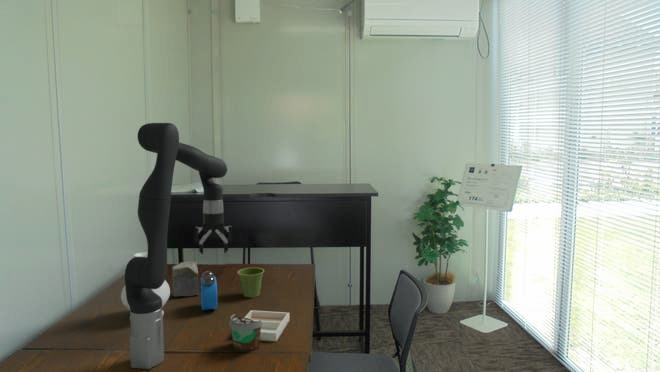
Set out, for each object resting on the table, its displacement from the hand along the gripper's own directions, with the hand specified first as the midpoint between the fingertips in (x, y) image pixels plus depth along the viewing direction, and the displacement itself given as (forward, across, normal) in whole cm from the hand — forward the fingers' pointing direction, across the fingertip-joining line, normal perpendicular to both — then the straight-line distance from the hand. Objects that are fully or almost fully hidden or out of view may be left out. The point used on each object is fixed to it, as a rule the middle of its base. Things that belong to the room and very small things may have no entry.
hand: (213, 253), depth 168 cm
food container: (+27, +9, -28) cm, 40 cm away
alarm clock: (+26, -2, +10) cm, 28 cm away
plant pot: (+26, +16, +22) cm, 37 cm away
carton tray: (+26, +17, -14) cm, 34 cm away
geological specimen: (+26, -13, +29) cm, 41 cm away
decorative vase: (+26, -26, +9) cm, 38 cm away
